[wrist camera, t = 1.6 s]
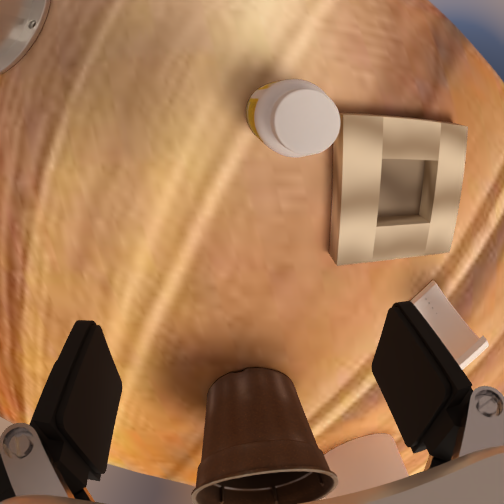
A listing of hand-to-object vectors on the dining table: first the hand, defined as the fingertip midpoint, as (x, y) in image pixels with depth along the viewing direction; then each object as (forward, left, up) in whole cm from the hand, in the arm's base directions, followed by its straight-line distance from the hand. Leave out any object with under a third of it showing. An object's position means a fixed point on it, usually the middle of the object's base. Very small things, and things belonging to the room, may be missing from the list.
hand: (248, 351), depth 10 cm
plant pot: (+29, +1, -21) cm, 36 cm away
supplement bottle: (-6, +5, -21) cm, 22 cm away
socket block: (+1, +17, -21) cm, 26 cm away
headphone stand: (+17, +25, -21) cm, 37 cm away
